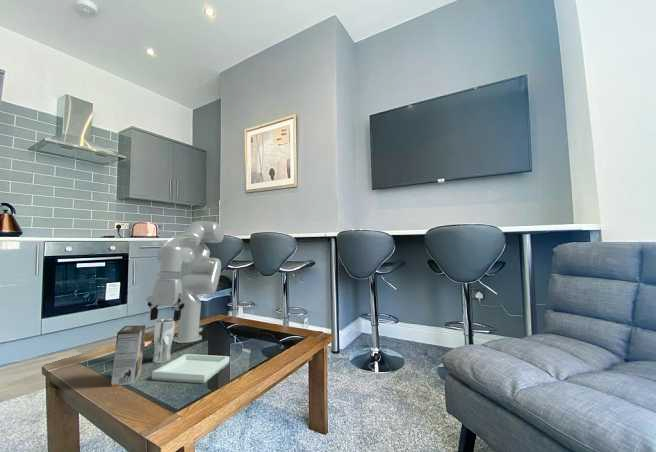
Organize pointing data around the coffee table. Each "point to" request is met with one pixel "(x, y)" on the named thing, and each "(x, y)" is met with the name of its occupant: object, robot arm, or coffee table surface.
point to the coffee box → (128, 355)
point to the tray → (191, 368)
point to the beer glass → (163, 339)
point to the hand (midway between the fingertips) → (165, 320)
